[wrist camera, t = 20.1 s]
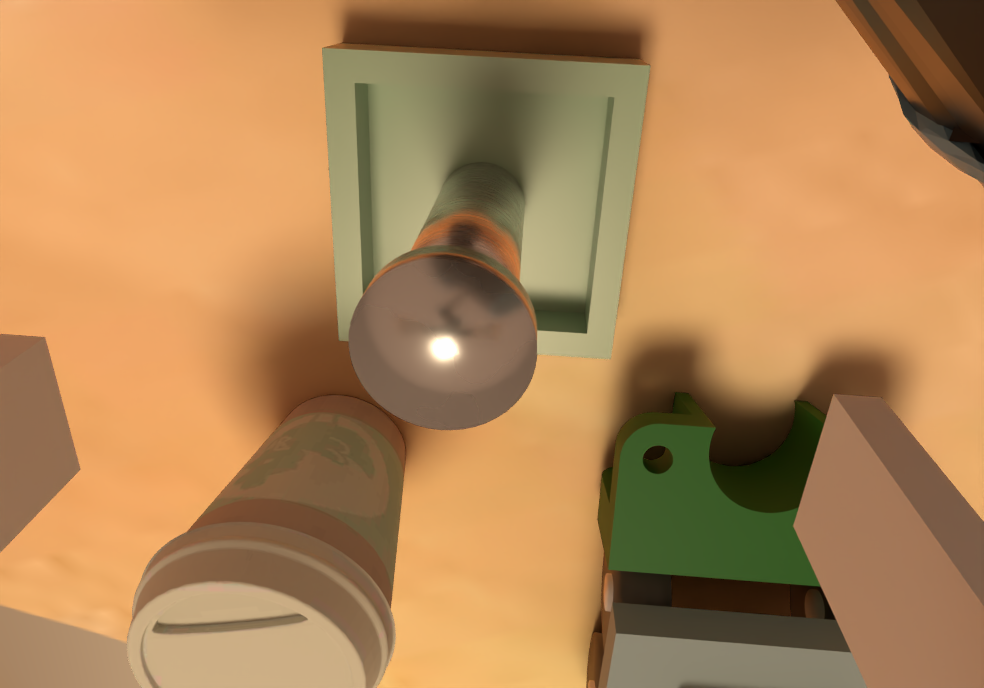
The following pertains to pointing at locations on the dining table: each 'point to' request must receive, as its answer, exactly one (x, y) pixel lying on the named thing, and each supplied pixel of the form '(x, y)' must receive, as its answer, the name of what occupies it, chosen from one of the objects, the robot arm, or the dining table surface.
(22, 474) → the robot arm
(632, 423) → the clamp
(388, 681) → the dining table surface
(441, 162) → the tray
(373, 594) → the coffee cup
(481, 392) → the pin
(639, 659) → the toy cart
